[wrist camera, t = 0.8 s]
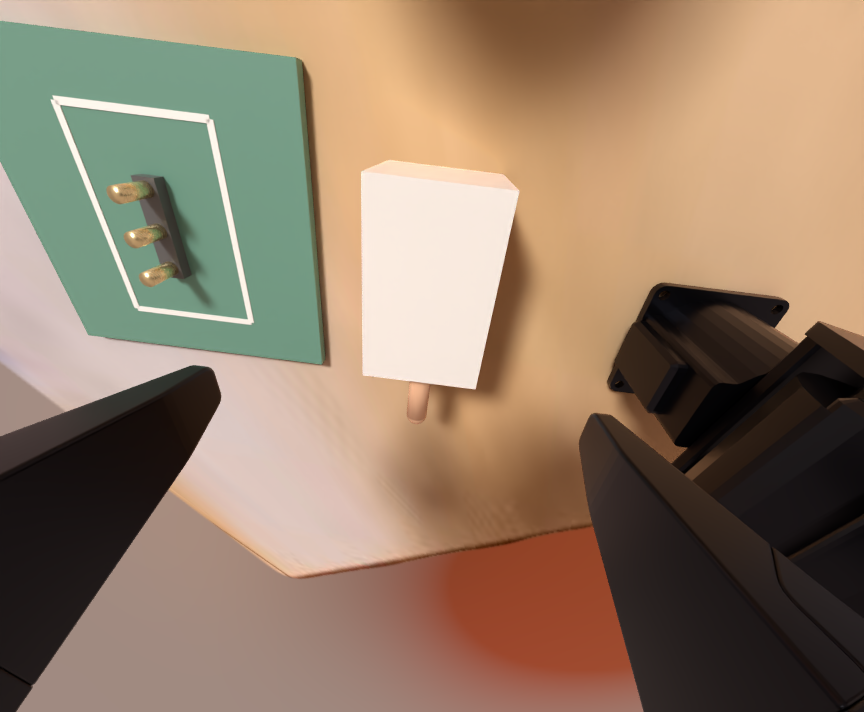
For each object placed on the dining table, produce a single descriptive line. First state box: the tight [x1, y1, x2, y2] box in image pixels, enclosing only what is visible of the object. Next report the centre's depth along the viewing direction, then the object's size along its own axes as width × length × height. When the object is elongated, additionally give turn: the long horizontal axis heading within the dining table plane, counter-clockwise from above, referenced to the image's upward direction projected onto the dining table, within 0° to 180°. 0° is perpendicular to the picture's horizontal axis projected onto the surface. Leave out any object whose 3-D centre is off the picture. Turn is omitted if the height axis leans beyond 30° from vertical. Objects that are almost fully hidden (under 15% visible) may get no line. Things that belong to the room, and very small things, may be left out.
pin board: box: [0, 21, 325, 364], centre depth 16 cm, size 14×14×3 cm
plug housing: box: [361, 160, 519, 424], centre depth 16 cm, size 5×12×5 cm, turn 174°
